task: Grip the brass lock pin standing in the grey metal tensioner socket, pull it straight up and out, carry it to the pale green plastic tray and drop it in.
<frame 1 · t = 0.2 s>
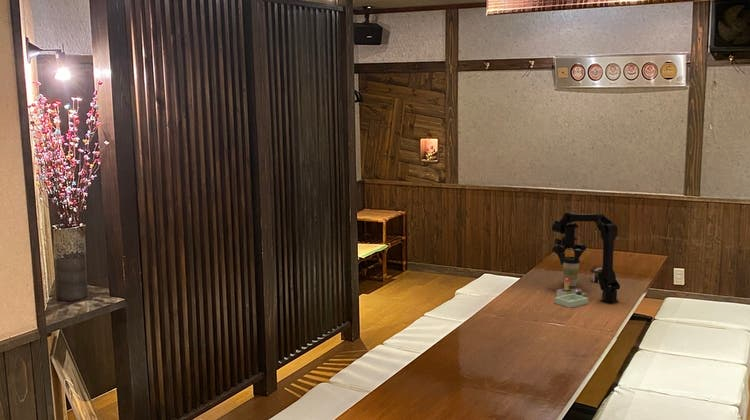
hand: (568, 263, 387), 14 cm above the table, tool pointing down, fingers open, 9 cm apart
tensioner: (566, 296, 375), on the table
tray: (571, 303, 363), on the table
coffee cup: (570, 285, 399), on the table
architectural model: (597, 281, 408), on the table
lock pin: (566, 287, 375), in the tensioner
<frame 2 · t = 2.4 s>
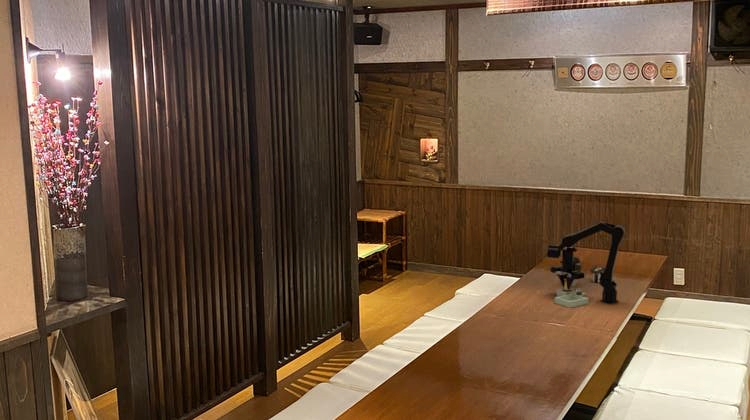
hand: (566, 288, 375), 5 cm above the table, tool pointing down, fingers closed on lock pin, 3 cm apart
lock pin: (566, 287, 375), in the tensioner, touching gripper
everything else where it was.
when the fingers open (7 cm above the table, at t = 5.3 s): lock pin drops 2 cm, resting on tray.
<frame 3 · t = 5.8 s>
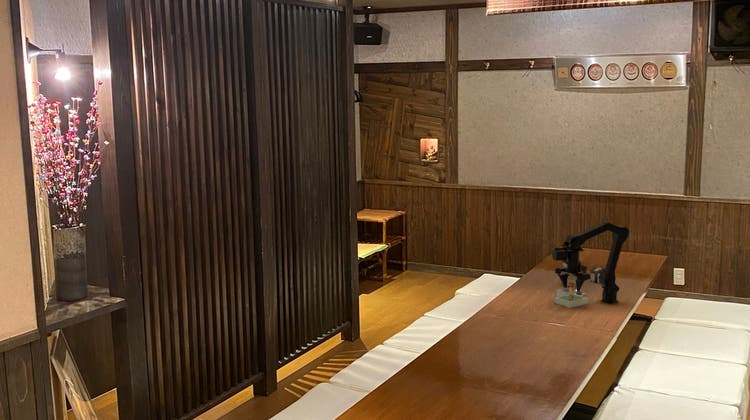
hand: (571, 290, 362), 7 cm above the table, tool pointing down, fingers open, 8 cm apart
lock pin: (571, 292, 362), in the tray
everything else where it was.
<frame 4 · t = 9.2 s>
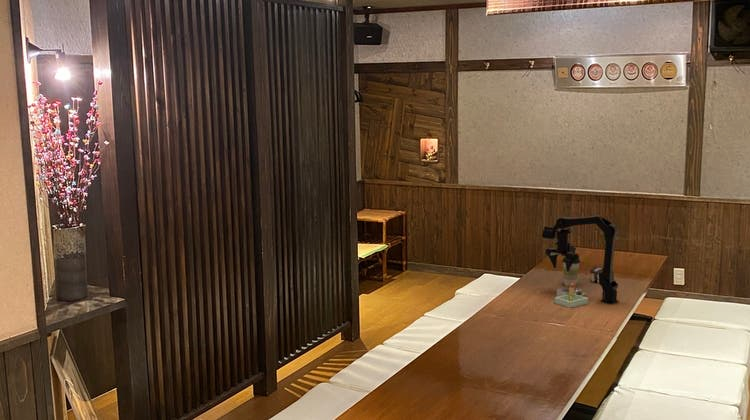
hand: (561, 269, 379), 13 cm above the table, tool pointing down, fingers open, 9 cm apart
nothing on the table moved.
at the end: lock pin inside the target area on the tray (0.0 cm from its centre), point 5.5 cm above the tray's base; the gripper is holding nothing; lock pin touching tray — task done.
